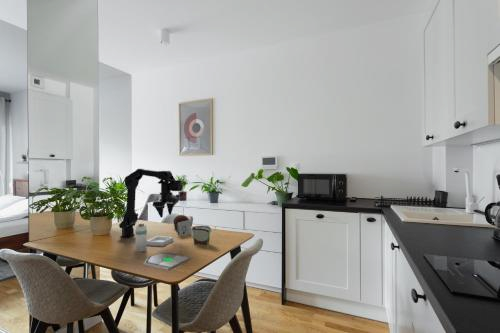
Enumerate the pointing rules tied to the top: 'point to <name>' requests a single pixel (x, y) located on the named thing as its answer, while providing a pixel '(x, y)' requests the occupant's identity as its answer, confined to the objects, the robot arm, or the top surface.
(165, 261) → the white flat slab
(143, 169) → the robot arm
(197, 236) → the food container
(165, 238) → the tray
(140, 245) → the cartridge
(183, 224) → the electrical switch
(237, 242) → the top surface
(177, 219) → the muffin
